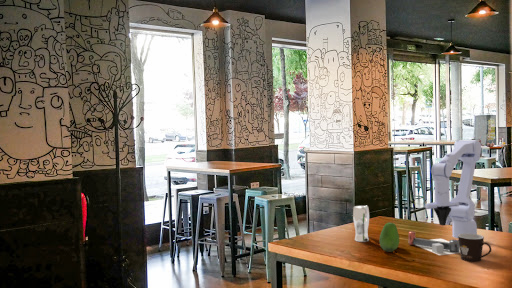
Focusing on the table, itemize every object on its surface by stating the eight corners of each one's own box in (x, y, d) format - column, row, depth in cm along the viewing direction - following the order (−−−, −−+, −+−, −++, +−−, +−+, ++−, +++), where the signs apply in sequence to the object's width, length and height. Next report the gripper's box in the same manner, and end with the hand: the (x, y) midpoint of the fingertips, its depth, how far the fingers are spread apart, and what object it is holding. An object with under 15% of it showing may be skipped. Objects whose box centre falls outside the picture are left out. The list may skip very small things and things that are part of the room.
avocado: (400, 254, 193) (400, 224, 192) (380, 254, 194) (379, 224, 194) (398, 249, 201) (397, 220, 200) (378, 248, 202) (378, 220, 202)
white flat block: (441, 241, 210) (441, 231, 210) (475, 255, 189) (475, 243, 189) (408, 245, 206) (407, 234, 206) (439, 259, 185) (439, 247, 185)
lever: (461, 250, 189) (460, 238, 188) (457, 252, 186) (457, 239, 186) (411, 242, 203) (411, 230, 203) (407, 244, 201) (406, 232, 200)
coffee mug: (453, 260, 182) (453, 234, 182) (476, 259, 183) (475, 233, 183) (470, 269, 171) (469, 241, 170) (493, 268, 171) (493, 240, 171)
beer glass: (369, 242, 213) (369, 208, 213) (353, 242, 215) (352, 208, 214) (369, 238, 220) (368, 205, 220) (353, 238, 222) (353, 205, 221)
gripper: (451, 189, 206) (451, 221, 206) (420, 192, 202) (421, 224, 203) (462, 191, 199) (462, 224, 200) (430, 194, 195) (431, 228, 196)
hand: (442, 225), depth 201 cm, fingers closed
